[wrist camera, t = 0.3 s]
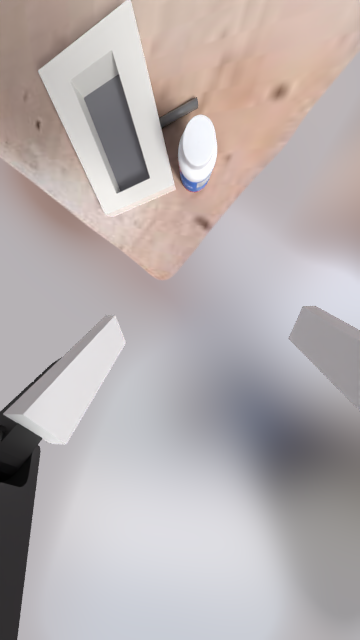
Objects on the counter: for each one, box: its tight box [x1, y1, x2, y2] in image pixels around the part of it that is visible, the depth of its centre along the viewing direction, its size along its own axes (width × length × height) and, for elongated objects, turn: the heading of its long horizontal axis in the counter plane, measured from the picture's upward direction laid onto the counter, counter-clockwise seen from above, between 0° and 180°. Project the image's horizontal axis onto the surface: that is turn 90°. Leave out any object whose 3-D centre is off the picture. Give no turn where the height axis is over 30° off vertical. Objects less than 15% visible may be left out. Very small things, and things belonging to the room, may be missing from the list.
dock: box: [38, 0, 198, 217], centre depth 21 cm, size 16×20×3 cm
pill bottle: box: [178, 115, 217, 192], centre depth 20 cm, size 6×5×10 cm
